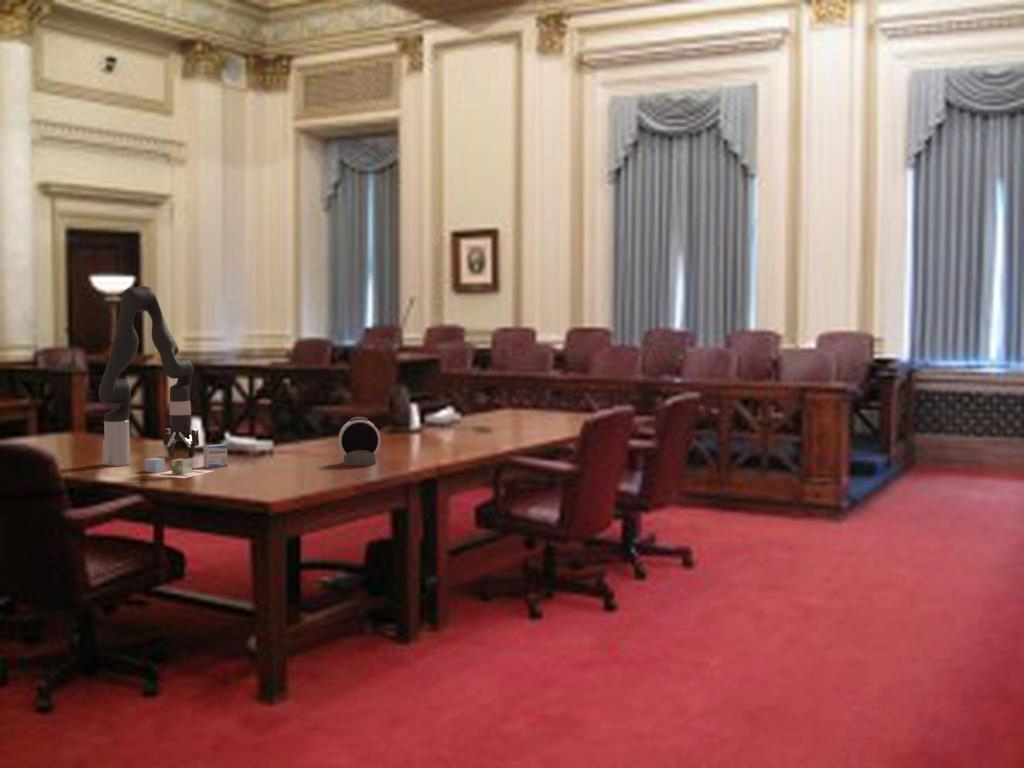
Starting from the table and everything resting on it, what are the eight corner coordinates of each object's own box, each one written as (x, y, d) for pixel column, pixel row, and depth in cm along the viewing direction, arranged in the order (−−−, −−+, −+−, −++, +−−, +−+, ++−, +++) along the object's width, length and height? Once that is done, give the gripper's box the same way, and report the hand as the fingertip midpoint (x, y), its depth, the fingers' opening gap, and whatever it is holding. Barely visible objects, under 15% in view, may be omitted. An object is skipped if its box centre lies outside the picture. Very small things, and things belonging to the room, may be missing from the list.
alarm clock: (339, 465, 451) (338, 418, 450) (338, 462, 461) (337, 416, 460) (381, 464, 455) (380, 418, 453) (379, 460, 465) (378, 415, 463)
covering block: (172, 473, 429) (171, 460, 428) (180, 471, 433) (180, 458, 433) (183, 474, 427) (182, 460, 427) (191, 472, 432) (191, 459, 431)
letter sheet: (148, 476, 425) (148, 475, 425) (179, 469, 442) (179, 468, 442) (184, 479, 419) (184, 477, 419) (214, 472, 436) (214, 470, 436)
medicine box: (207, 469, 443) (207, 446, 443) (203, 467, 447) (203, 445, 446) (227, 467, 448) (227, 444, 447) (223, 465, 452) (222, 443, 451)
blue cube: (145, 472, 435) (145, 459, 434) (154, 470, 439) (153, 457, 439) (156, 473, 433) (155, 460, 432) (164, 471, 437) (164, 458, 437)
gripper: (157, 413, 428) (159, 457, 429) (189, 414, 422) (190, 459, 423) (171, 411, 435) (172, 455, 436) (202, 412, 429) (203, 456, 430)
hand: (181, 457), depth 429 cm, fingers open, 8 cm apart
